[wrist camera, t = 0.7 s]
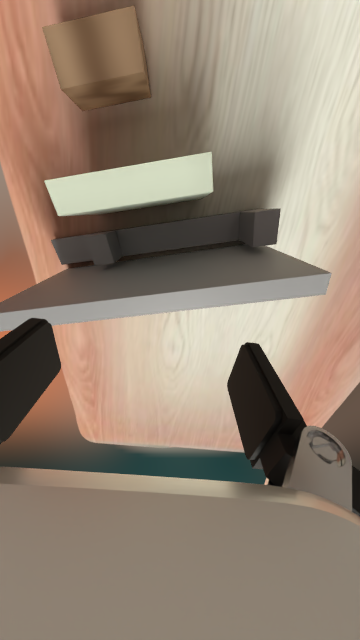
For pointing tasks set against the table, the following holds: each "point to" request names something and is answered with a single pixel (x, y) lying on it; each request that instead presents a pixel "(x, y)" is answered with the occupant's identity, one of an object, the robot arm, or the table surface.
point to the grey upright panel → (167, 272)
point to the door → (133, 186)
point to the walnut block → (100, 58)
